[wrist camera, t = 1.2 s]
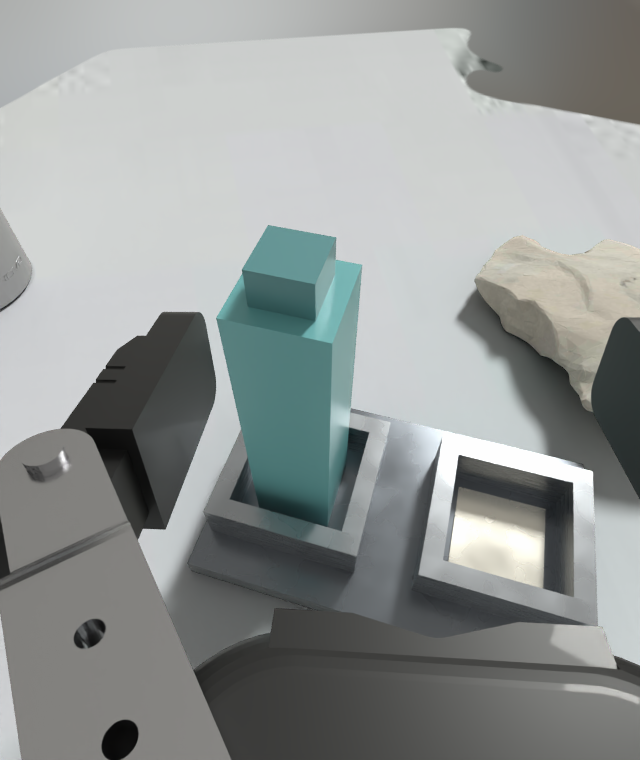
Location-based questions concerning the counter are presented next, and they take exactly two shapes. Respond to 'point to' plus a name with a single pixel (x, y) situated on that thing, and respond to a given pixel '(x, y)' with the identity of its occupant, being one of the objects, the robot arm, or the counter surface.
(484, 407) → the counter surface
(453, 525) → the panel
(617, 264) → the rock
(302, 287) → the plug
